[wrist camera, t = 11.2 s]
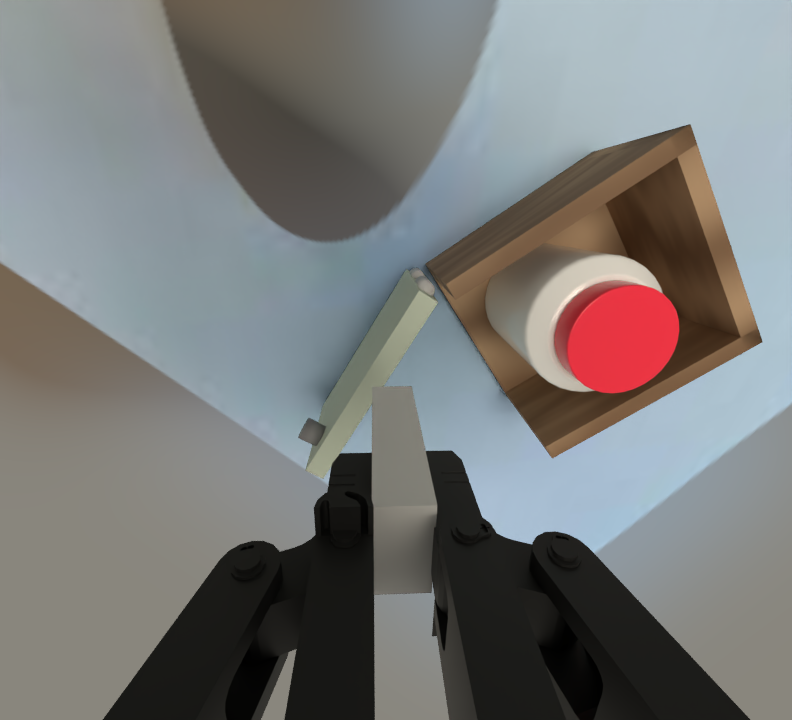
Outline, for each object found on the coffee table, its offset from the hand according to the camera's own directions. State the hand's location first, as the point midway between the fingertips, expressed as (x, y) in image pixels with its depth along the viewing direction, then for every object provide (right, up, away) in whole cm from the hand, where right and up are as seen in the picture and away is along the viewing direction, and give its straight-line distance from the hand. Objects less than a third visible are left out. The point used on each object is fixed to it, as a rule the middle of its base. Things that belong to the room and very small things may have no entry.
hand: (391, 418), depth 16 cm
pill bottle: (+11, +7, +14) cm, 19 cm away
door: (-2, +4, +15) cm, 16 cm away
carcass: (+11, +8, +15) cm, 20 cm away
